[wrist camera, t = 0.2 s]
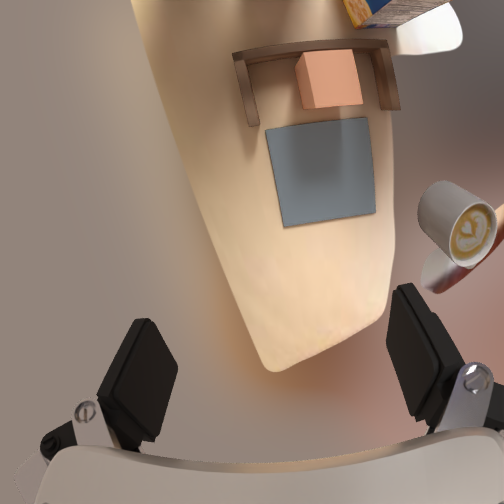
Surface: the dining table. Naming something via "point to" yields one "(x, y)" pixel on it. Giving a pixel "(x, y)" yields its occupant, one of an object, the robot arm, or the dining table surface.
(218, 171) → the dining table surface
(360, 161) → the mat
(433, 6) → the beverage box
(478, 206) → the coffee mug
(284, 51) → the frame
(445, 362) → the robot arm
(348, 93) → the block
